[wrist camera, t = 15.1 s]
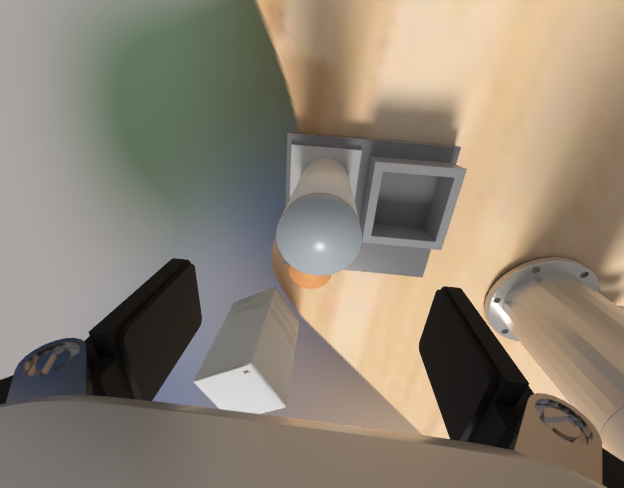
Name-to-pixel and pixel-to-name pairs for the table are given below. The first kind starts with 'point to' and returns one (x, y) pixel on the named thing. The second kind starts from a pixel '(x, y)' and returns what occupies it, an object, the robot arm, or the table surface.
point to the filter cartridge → (320, 221)
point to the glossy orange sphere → (307, 279)
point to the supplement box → (252, 356)
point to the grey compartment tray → (388, 195)
